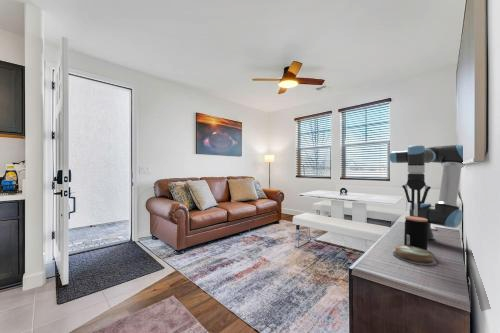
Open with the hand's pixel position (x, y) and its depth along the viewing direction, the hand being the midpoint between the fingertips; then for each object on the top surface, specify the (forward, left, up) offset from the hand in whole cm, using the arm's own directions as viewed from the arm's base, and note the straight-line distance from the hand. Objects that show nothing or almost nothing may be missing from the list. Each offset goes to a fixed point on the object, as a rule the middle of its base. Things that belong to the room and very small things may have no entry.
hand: (415, 215), depth 122 cm
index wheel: (+9, +6, -21) cm, 23 cm away
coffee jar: (-5, -3, -21) cm, 22 cm away
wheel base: (+9, +6, -21) cm, 23 cm away
